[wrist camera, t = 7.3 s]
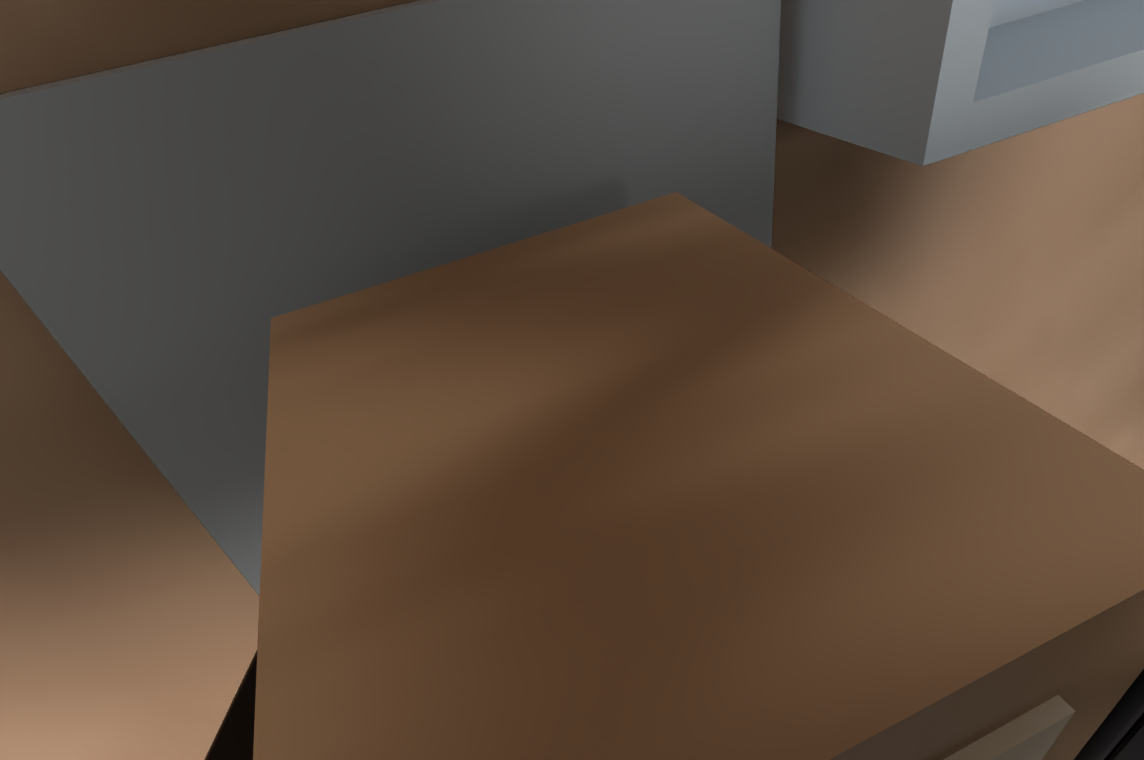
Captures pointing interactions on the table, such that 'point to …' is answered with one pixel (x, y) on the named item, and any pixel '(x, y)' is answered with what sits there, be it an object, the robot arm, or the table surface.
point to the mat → (350, 187)
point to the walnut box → (673, 521)
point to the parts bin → (952, 68)
